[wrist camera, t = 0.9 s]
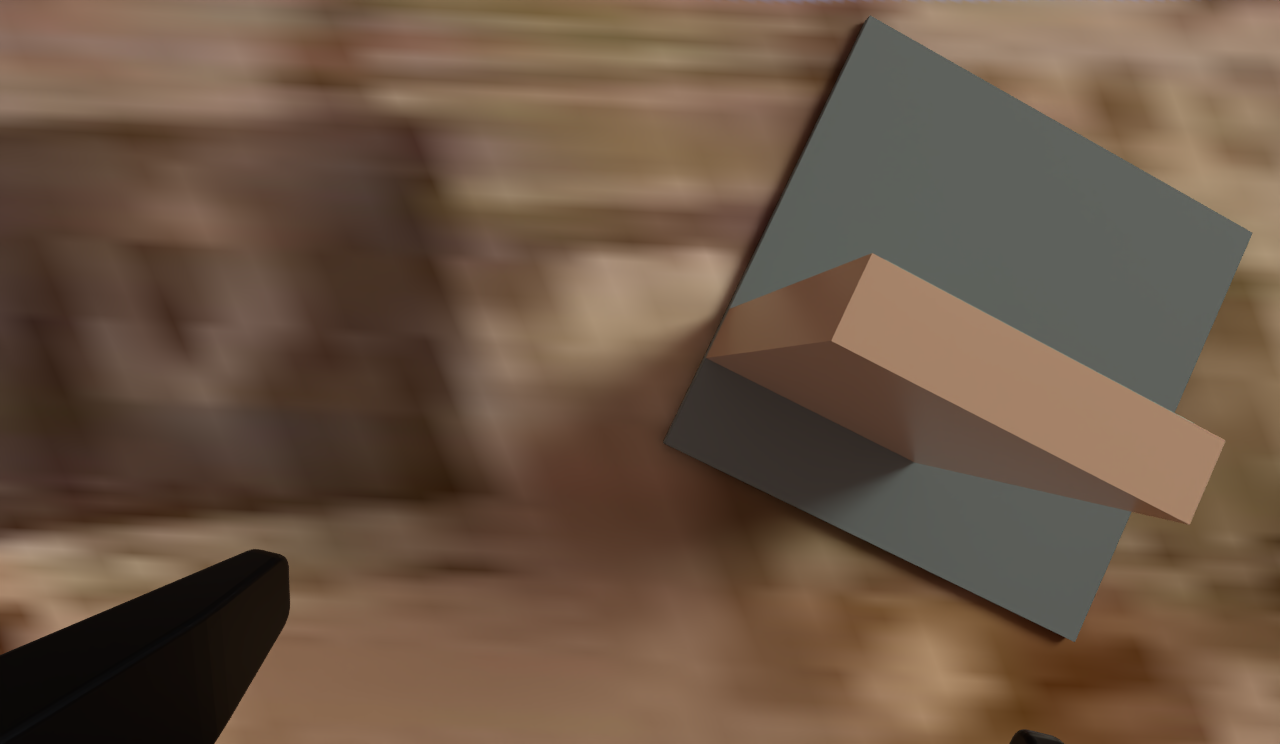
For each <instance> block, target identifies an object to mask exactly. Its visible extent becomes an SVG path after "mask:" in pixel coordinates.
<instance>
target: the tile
mask: <svg viewBox="0 0 1280 744" xmlns="http://www.w3.org/2000/svg"><path fill="white" fill-rule="evenodd" d="M706 358H707V359H709V360H711V361H713V362H715V363H717V364H719V365H721V366H723V367H725V368H727V369H729V370H731V371H733V372H735V373H737V374H739V375H741V376H743V377H745V378H747V379H749V380H751V381H753V382H755V383H757V384H759V385H761V386H763V387H765V388H767V389H769V390H771V391H773V392H775V393H777V394H779V395H781V396H783V397H785V398H787V399H789V400H791V401H793V402H795V403H797V404H799V405H801V406H803V407H805V408H807V409H809V410H811V411H813V412H815V413H817V414H819V415H821V416H823V417H825V418H827V419H829V420H831V421H833V422H835V423H837V424H839V425H841V426H843V427H845V428H847V429H849V430H851V431H853V432H855V433H857V434H859V435H861V436H863V437H865V438H867V439H869V440H871V441H873V442H875V443H877V444H879V445H881V446H883V447H885V448H887V449H889V450H891V451H893V452H895V453H897V454H899V455H901V456H903V457H905V458H907V459H909V460H911V461H913V462H915V463H919V464H923V465H928V466H932V467H937V468H941V469H946V470H950V471H954V472H959V473H963V474H968V475H972V476H976V477H981V478H985V479H990V480H994V481H999V482H1003V483H1007V484H1012V485H1016V486H1021V487H1025V488H1029V489H1034V490H1038V491H1043V492H1047V493H1052V494H1056V495H1060V496H1065V497H1069V498H1074V499H1078V500H1082V501H1087V502H1091V503H1096V504H1100V505H1105V506H1109V507H1113V508H1118V509H1122V510H1127V511H1131V512H1135V513H1140V514H1144V515H1149V516H1153V517H1158V518H1162V519H1166V520H1171V521H1175V522H1180V523H1184V524H1188V525H1190V523H1191V520H1192V518H1193V516H1194V513H1195V511H1196V509H1197V506H1198V504H1199V502H1200V499H1201V497H1202V495H1203V492H1204V490H1205V488H1206V485H1207V483H1208V481H1209V478H1210V476H1211V474H1212V471H1213V469H1214V467H1215V464H1216V462H1217V460H1218V457H1219V455H1220V453H1221V450H1222V448H1223V446H1224V443H1225V441H1226V440H1224V439H1222V438H1220V437H1218V436H1216V435H1214V434H1212V433H1210V432H1209V431H1207V430H1205V429H1203V428H1201V427H1199V426H1197V425H1195V424H1194V423H1192V422H1191V421H1189V420H1187V419H1185V418H1183V417H1181V416H1179V415H1177V414H1176V413H1174V412H1172V411H1170V410H1168V409H1166V408H1164V407H1162V406H1160V405H1159V404H1157V403H1155V402H1153V401H1151V400H1149V399H1147V398H1145V397H1143V396H1142V395H1140V394H1138V393H1136V392H1134V391H1132V390H1130V389H1128V388H1127V387H1125V386H1123V385H1121V384H1119V383H1117V382H1115V381H1113V380H1111V379H1110V378H1108V377H1106V376H1104V375H1102V374H1100V373H1098V372H1096V371H1094V370H1093V369H1091V368H1089V367H1087V366H1085V365H1083V364H1081V363H1079V362H1078V361H1076V360H1074V359H1072V358H1070V357H1068V356H1066V355H1064V354H1062V353H1061V352H1059V351H1057V350H1055V349H1053V348H1051V347H1049V346H1047V345H1045V344H1044V343H1042V342H1040V341H1038V340H1036V339H1034V338H1032V337H1030V336H1029V335H1027V334H1025V333H1023V332H1021V331H1019V330H1017V329H1015V328H1013V327H1012V326H1010V325H1008V324H1006V323H1004V322H1002V321H1000V320H998V319H996V318H995V317H993V316H991V315H989V314H987V313H985V312H983V311H981V310H980V309H978V308H976V307H974V306H972V305H970V304H968V303H966V302H964V301H963V300H961V299H959V298H957V297H955V296H953V295H951V294H949V293H947V292H946V291H944V290H942V289H940V288H938V287H936V286H934V285H932V284H931V283H929V282H927V281H925V280H923V279H921V278H919V277H917V276H915V275H914V274H912V273H910V272H908V271H906V270H904V269H902V268H900V267H898V266H897V265H895V264H893V263H891V262H889V261H887V260H885V259H883V258H881V257H879V256H877V255H875V254H873V253H871V254H869V255H866V256H863V257H861V258H858V259H856V260H853V261H851V262H848V263H846V264H843V265H840V266H838V267H835V268H833V269H830V270H828V271H825V272H823V273H820V274H817V275H815V276H812V277H810V278H807V279H805V280H802V281H799V282H797V283H794V284H792V285H789V286H787V287H784V288H782V289H779V290H776V291H774V292H771V293H769V294H766V295H764V296H761V297H759V298H756V299H753V300H751V301H748V302H746V303H743V304H741V305H738V306H735V307H733V308H730V309H729V311H728V313H727V315H726V317H725V319H724V321H723V323H722V325H721V327H720V329H719V332H718V334H717V336H716V338H715V340H714V342H713V344H712V346H711V348H710V350H709V352H708V354H707V357H706Z"/></svg>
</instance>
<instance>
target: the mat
mask: <svg viewBox="0 0 1280 744" xmlns="http://www.w3.org/2000/svg"><path fill="white" fill-rule="evenodd" d="M1251 235H1252V232H1250V231H1248V230H1246V229H1245V228H1243V227H1241V226H1239V225H1238V224H1236V223H1234V222H1232V221H1231V220H1229V219H1227V218H1225V217H1224V216H1222V215H1220V214H1218V213H1217V212H1215V211H1213V210H1211V209H1210V208H1208V207H1206V206H1204V205H1203V204H1201V203H1199V202H1197V201H1195V200H1194V199H1192V198H1190V197H1188V196H1187V195H1185V194H1183V193H1181V192H1180V191H1178V190H1176V189H1174V188H1173V187H1171V186H1169V185H1167V184H1166V183H1164V182H1162V181H1160V180H1159V179H1157V178H1155V177H1153V176H1151V175H1150V174H1148V173H1146V172H1144V171H1143V170H1141V169H1139V168H1137V167H1136V166H1134V165H1132V164H1130V163H1129V162H1127V161H1125V160H1123V159H1122V158H1120V157H1118V156H1116V155H1115V154H1113V153H1111V152H1109V151H1108V150H1106V149H1104V148H1102V147H1100V146H1099V145H1097V144H1095V143H1093V142H1092V141H1090V140H1088V139H1086V138H1085V137H1083V136H1081V135H1079V134H1078V133H1076V132H1074V131H1072V130H1071V129H1069V128H1067V127H1065V126H1064V125H1062V124H1060V123H1058V122H1057V121H1055V120H1053V119H1051V118H1049V117H1048V116H1046V115H1044V114H1042V113H1041V112H1039V111H1037V110H1035V109H1034V108H1032V107H1030V106H1028V105H1027V104H1025V103H1023V102H1021V101H1020V100H1018V99H1016V98H1014V97H1013V96H1011V95H1009V94H1007V93H1006V92H1004V91H1002V90H1000V89H998V88H997V87H995V86H993V85H991V84H990V83H988V82H986V81H984V80H983V79H981V78H979V77H977V76H976V75H974V74H972V73H970V72H969V71H967V70H965V69H963V68H962V67H960V66H958V65H956V64H954V63H953V62H951V61H949V60H947V59H946V58H944V57H942V56H940V55H939V54H937V53H935V52H933V51H932V50H930V49H928V48H926V47H925V46H923V45H921V44H919V43H918V42H916V41H914V40H912V39H911V38H909V37H907V36H905V35H903V34H902V33H900V32H898V31H896V30H895V29H893V28H891V27H889V26H888V25H886V24H884V23H882V22H881V21H879V20H877V19H875V18H874V17H872V16H869V17H868V18H867V20H866V21H865V22H864V24H863V27H862V29H861V31H860V33H859V35H858V37H857V39H856V41H855V43H854V45H853V47H852V49H851V52H850V54H849V56H848V58H847V60H846V62H845V64H844V66H843V68H842V70H841V72H840V75H839V77H838V79H837V81H836V83H835V85H834V87H833V89H832V91H831V93H830V95H829V97H828V100H827V102H826V104H825V106H824V108H823V110H822V112H821V114H820V116H819V118H818V120H817V122H816V125H815V127H814V129H813V131H812V133H811V135H810V137H809V139H808V141H807V143H806V145H805V147H804V150H803V152H802V154H801V156H800V158H799V160H798V162H797V164H796V166H795V168H794V170H793V172H792V175H791V177H790V179H789V181H788V183H787V185H786V187H785V189H784V191H783V193H782V195H781V197H780V200H779V202H778V204H777V206H776V208H775V210H774V212H773V214H772V216H771V218H770V220H769V222H768V225H767V227H766V229H765V231H764V233H763V235H762V237H761V239H760V241H759V243H758V245H757V247H756V250H755V252H754V254H753V256H752V258H751V260H750V262H749V264H748V266H747V268H746V270H745V273H744V275H743V277H742V279H741V281H740V283H739V285H738V287H737V289H736V291H735V293H734V295H733V298H732V300H731V302H730V304H729V306H728V308H727V310H726V312H725V314H724V316H723V318H722V320H721V323H720V325H719V327H718V329H717V331H716V333H715V335H714V337H713V339H712V341H711V343H710V345H709V348H708V350H707V352H706V354H705V356H704V358H703V360H702V362H701V364H700V366H699V368H698V370H697V373H696V375H695V377H694V379H693V381H692V383H691V385H690V387H689V389H688V391H687V393H686V395H685V398H684V400H683V402H682V404H681V406H680V408H679V410H678V412H677V414H676V416H675V418H674V420H673V423H672V425H671V427H670V429H669V431H668V433H667V435H666V437H665V439H664V441H663V443H664V444H666V445H669V446H671V447H673V448H675V449H677V450H679V451H681V452H683V453H685V454H687V455H689V456H691V457H693V458H695V459H697V460H700V461H702V462H704V463H706V464H708V465H710V466H712V467H714V468H716V469H718V470H720V471H722V472H724V473H726V474H728V475H731V476H733V477H735V478H737V479H739V480H741V481H743V482H745V483H747V484H749V485H751V486H753V487H755V488H757V489H759V490H762V491H764V492H766V493H768V494H770V495H772V496H774V497H776V498H778V499H780V500H782V501H784V502H786V503H788V504H790V505H793V506H795V507H797V508H799V509H801V510H803V511H805V512H807V513H809V514H811V515H813V516H815V517H817V518H819V519H821V520H824V521H826V522H828V523H830V524H832V525H834V526H836V527H838V528H840V529H842V530H844V531H846V532H848V533H850V534H852V535H855V536H857V537H859V538H861V539H863V540H865V541H867V542H869V543H871V544H873V545H875V546H877V547H879V548H881V549H883V550H886V551H888V552H890V553H892V554H894V555H896V556H898V557H900V558H902V559H904V560H906V561H908V562H910V563H912V564H914V565H917V566H919V567H921V568H923V569H925V570H927V571H929V572H931V573H933V574H935V575H937V576H939V577H941V578H943V579H945V580H948V581H950V582H952V583H954V584H956V585H958V586H960V587H962V588H964V589H966V590H968V591H970V592H972V593H974V594H976V595H979V596H981V597H983V598H985V599H987V600H989V601H991V602H993V603H995V604H997V605H999V606H1001V607H1003V608H1005V609H1007V610H1010V611H1012V612H1014V613H1016V614H1018V615H1020V616H1022V617H1024V618H1026V619H1028V620H1030V621H1032V622H1034V623H1036V624H1038V625H1041V626H1043V627H1045V628H1047V629H1049V630H1051V631H1053V632H1055V633H1057V634H1059V635H1061V636H1063V637H1065V638H1067V639H1070V640H1072V641H1074V642H1075V640H1076V638H1077V636H1078V634H1079V631H1080V629H1081V627H1082V624H1083V622H1084V620H1085V617H1086V615H1087V613H1088V611H1089V608H1090V606H1091V604H1092V601H1093V599H1094V597H1095V594H1096V592H1097V590H1098V588H1099V585H1100V583H1101V581H1102V578H1103V576H1104V574H1105V571H1106V569H1107V567H1108V564H1109V562H1110V560H1111V558H1112V555H1113V553H1114V551H1115V548H1116V546H1117V544H1118V541H1119V539H1120V537H1121V535H1122V532H1123V530H1124V528H1125V525H1126V523H1127V521H1128V518H1129V516H1130V514H1131V511H1127V510H1122V509H1118V508H1113V507H1109V506H1105V505H1100V504H1096V503H1091V502H1087V501H1082V500H1078V499H1074V498H1069V497H1065V496H1060V495H1056V494H1052V493H1047V492H1043V491H1038V490H1034V489H1029V488H1025V487H1021V486H1016V485H1012V484H1007V483H1003V482H999V481H994V480H990V479H985V478H981V477H976V476H972V475H968V474H963V473H959V472H954V471H950V470H946V469H941V468H937V467H932V466H928V465H923V464H919V463H915V462H913V461H911V460H909V459H907V458H905V457H903V456H901V455H899V454H897V453H895V452H893V451H891V450H889V449H887V448H885V447H883V446H881V445H879V444H877V443H875V442H873V441H871V440H869V439H867V438H865V437H863V436H861V435H859V434H857V433H855V432H853V431H851V430H849V429H847V428H845V427H843V426H841V425H839V424H837V423H835V422H833V421H831V420H829V419H827V418H825V417H823V416H821V415H819V414H817V413H815V412H813V411H811V410H809V409H807V408H805V407H803V406H801V405H799V404H797V403H795V402H793V401H791V400H789V399H787V398H785V397H783V396H781V395H779V394H777V393H775V392H773V391H771V390H769V389H767V388H765V387H763V386H761V385H759V384H757V383H755V382H753V381H751V380H749V379H747V378H745V377H743V376H741V375H739V374H737V373H735V372H733V371H731V370H729V369H727V368H725V367H723V366H721V365H719V364H717V363H715V362H713V361H711V360H709V359H707V358H706V357H707V354H708V352H709V350H710V348H711V346H712V344H713V342H714V340H715V338H716V336H717V334H718V332H719V329H720V327H721V325H722V323H723V321H724V319H725V317H726V315H727V313H728V311H729V309H730V308H733V307H735V306H738V305H741V304H743V303H746V302H748V301H751V300H753V299H756V298H759V297H761V296H764V295H766V294H769V293H771V292H774V291H776V290H779V289H782V288H784V287H787V286H789V285H792V284H794V283H797V282H799V281H802V280H805V279H807V278H810V277H812V276H815V275H817V274H820V273H823V272H825V271H828V270H830V269H833V268H835V267H838V266H840V265H843V264H846V263H848V262H851V261H853V260H856V259H858V258H861V257H863V256H866V255H869V254H871V253H873V254H875V255H877V256H879V257H881V258H883V259H885V260H887V261H889V262H891V263H893V264H895V265H897V266H898V267H900V268H902V269H904V270H906V271H908V272H910V273H912V274H914V275H915V276H917V277H919V278H921V279H923V280H925V281H927V282H929V283H931V284H932V285H934V286H936V287H938V288H940V289H942V290H944V291H946V292H947V293H949V294H951V295H953V296H955V297H957V298H959V299H961V300H963V301H964V302H966V303H968V304H970V305H972V306H974V307H976V308H978V309H980V310H981V311H983V312H985V313H987V314H989V315H991V316H993V317H995V318H996V319H998V320H1000V321H1002V322H1004V323H1006V324H1008V325H1010V326H1012V327H1013V328H1015V329H1017V330H1019V331H1021V332H1023V333H1025V334H1027V335H1029V336H1030V337H1032V338H1034V339H1036V340H1038V341H1040V342H1042V343H1044V344H1045V345H1047V346H1049V347H1051V348H1053V349H1055V350H1057V351H1059V352H1061V353H1062V354H1064V355H1066V356H1068V357H1070V358H1072V359H1074V360H1076V361H1078V362H1079V363H1081V364H1083V365H1085V366H1087V367H1089V368H1091V369H1093V370H1094V371H1096V372H1098V373H1100V374H1102V375H1104V376H1106V377H1108V378H1110V379H1111V380H1113V381H1115V382H1117V383H1119V384H1121V385H1123V386H1125V387H1127V388H1128V389H1130V390H1132V391H1134V392H1136V393H1138V394H1140V395H1142V396H1143V397H1145V398H1147V399H1149V400H1151V401H1153V402H1155V403H1157V404H1159V405H1160V406H1162V407H1164V408H1166V409H1168V410H1170V411H1172V412H1174V413H1175V410H1176V408H1177V406H1178V403H1179V401H1180V399H1181V396H1182V394H1183V392H1184V390H1185V387H1186V385H1187V383H1188V380H1189V378H1190V376H1191V373H1192V371H1193V369H1194V366H1195V364H1196V362H1197V360H1198V357H1199V355H1200V353H1201V350H1202V348H1203V346H1204V343H1205V341H1206V339H1207V337H1208V334H1209V332H1210V330H1211V327H1212V325H1213V323H1214V320H1215V318H1216V316H1217V314H1218V311H1219V309H1220V307H1221V304H1222V302H1223V300H1224V297H1225V295H1226V293H1227V291H1228V288H1229V286H1230V284H1231V281H1232V279H1233V277H1234V274H1235V272H1236V270H1237V267H1238V265H1239V263H1240V261H1241V258H1242V256H1243V254H1244V251H1245V249H1246V247H1247V244H1248V242H1249V240H1250V238H1251Z"/></svg>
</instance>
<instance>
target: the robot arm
mask: <svg viewBox="0 0 1280 744" xmlns="http://www.w3.org/2000/svg"><path fill="white" fill-rule="evenodd" d="M289 610H290V590H289V566H288V561H287V559H286V558H285V557H284V556H282V555H280V554H276V553H272V552H268V551H264V550H259V549H253V550H249V551H246V552H244V553H241V554H239V555H237V556H234V557H232V558H229V559H227V560H225V561H222V562H220V563H218V564H215V565H213V566H211V567H208V568H206V569H203V570H201V571H199V572H196V573H194V574H192V575H189V576H187V577H184V578H182V579H180V580H177V581H175V582H173V583H170V584H168V585H165V586H163V587H161V588H158V589H156V590H154V591H151V592H149V593H147V594H144V595H142V596H139V597H137V598H135V599H132V600H130V601H128V602H125V603H123V604H120V605H118V606H116V607H113V608H111V609H109V610H106V611H104V612H102V613H99V614H97V615H94V616H92V617H90V618H87V619H85V620H83V621H80V622H78V623H75V624H73V625H71V626H68V627H66V628H64V629H61V630H59V631H56V632H54V633H52V634H49V635H47V636H45V637H42V638H40V639H38V640H35V641H33V642H30V643H28V644H26V645H23V646H21V647H19V648H16V649H14V650H11V651H9V652H7V653H4V654H2V655H0V744H214V743H215V742H216V740H217V739H218V737H219V736H220V734H221V732H222V731H223V729H224V728H225V726H226V724H227V723H228V721H229V720H230V718H231V716H232V714H233V713H234V711H235V709H236V708H237V706H238V704H239V702H240V701H241V699H242V697H243V696H244V694H245V692H246V690H247V689H248V687H249V685H250V684H251V682H252V680H253V679H254V677H255V675H256V673H257V672H258V670H259V668H260V667H261V665H262V663H263V661H264V660H265V658H266V656H267V655H268V653H269V651H270V649H271V648H272V646H273V644H274V643H275V641H276V639H277V638H278V636H279V634H280V632H281V631H282V629H283V627H284V625H285V623H286V621H287V618H288V615H289ZM1010 744H1064V743H1063V742H1062V741H1061V740H1059V739H1058V738H1056V737H1054V736H1051V735H1047V734H1043V733H1039V732H1035V731H1030V730H1019V731H1018V732H1017V733H1015V735H1014V736H1013V738H1012V740H1011V742H1010Z"/></svg>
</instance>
